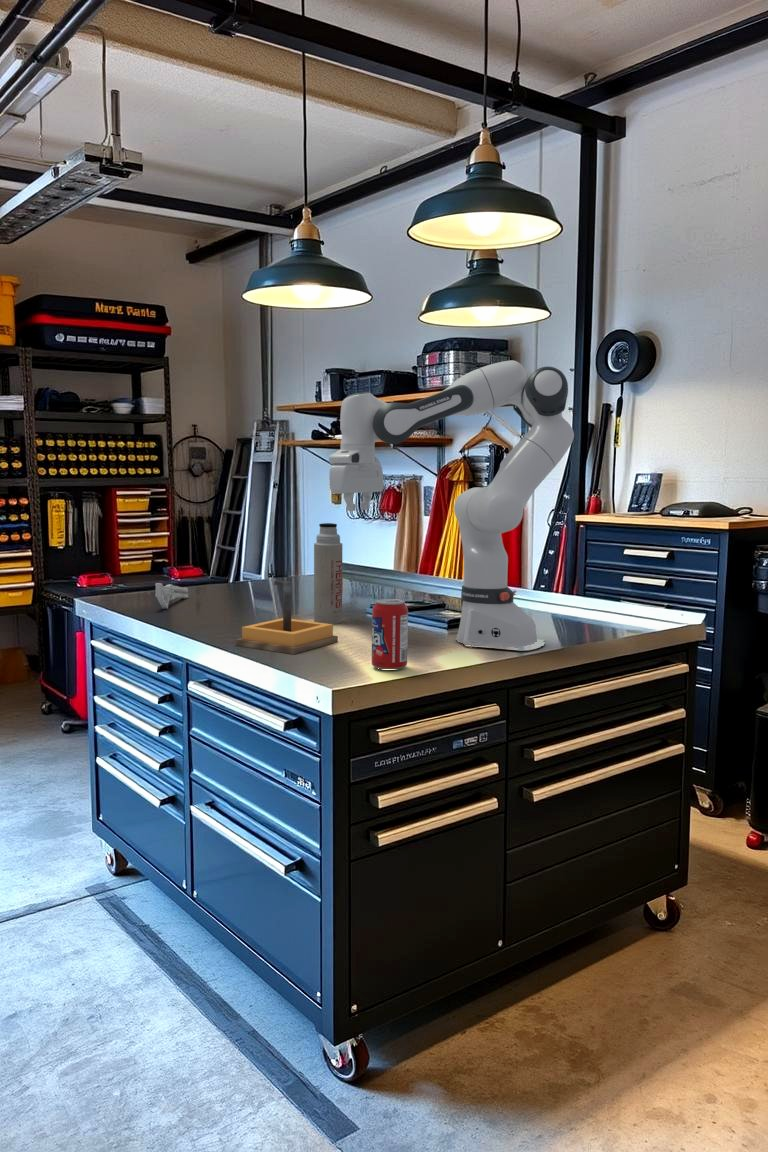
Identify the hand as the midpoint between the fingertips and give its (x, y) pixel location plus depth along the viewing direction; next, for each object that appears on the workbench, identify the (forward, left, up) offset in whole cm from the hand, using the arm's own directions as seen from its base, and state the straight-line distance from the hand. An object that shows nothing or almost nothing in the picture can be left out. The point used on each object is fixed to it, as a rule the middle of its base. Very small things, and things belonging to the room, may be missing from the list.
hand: (358, 510), depth 230 cm
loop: (+7, +20, -31) cm, 38 cm away
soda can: (-28, +29, -33) cm, 52 cm away
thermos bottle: (+17, -10, -33) cm, 38 cm away
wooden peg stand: (+7, +21, -33) cm, 39 cm away
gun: (+75, -7, -33) cm, 82 cm away
